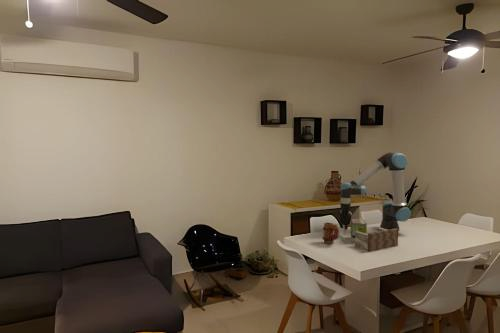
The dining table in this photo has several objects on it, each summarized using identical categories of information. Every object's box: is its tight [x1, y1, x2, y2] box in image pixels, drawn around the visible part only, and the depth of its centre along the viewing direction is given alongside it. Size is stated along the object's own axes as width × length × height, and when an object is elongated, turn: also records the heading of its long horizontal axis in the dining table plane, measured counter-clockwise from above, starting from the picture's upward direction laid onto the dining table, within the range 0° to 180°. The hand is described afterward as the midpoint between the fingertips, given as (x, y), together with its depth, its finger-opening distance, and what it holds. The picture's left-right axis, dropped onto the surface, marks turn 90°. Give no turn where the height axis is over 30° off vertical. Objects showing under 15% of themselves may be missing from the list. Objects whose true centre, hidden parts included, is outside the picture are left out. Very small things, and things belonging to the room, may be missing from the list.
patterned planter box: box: [354, 227, 399, 253], centre depth 243 cm, size 28×14×12 cm, turn 119°
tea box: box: [350, 218, 368, 244], centre depth 257 cm, size 15×10×15 cm, turn 168°
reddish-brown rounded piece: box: [322, 222, 340, 245], centre depth 248 cm, size 15×8×15 cm, turn 23°
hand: (344, 233), depth 269 cm, fingers closed
